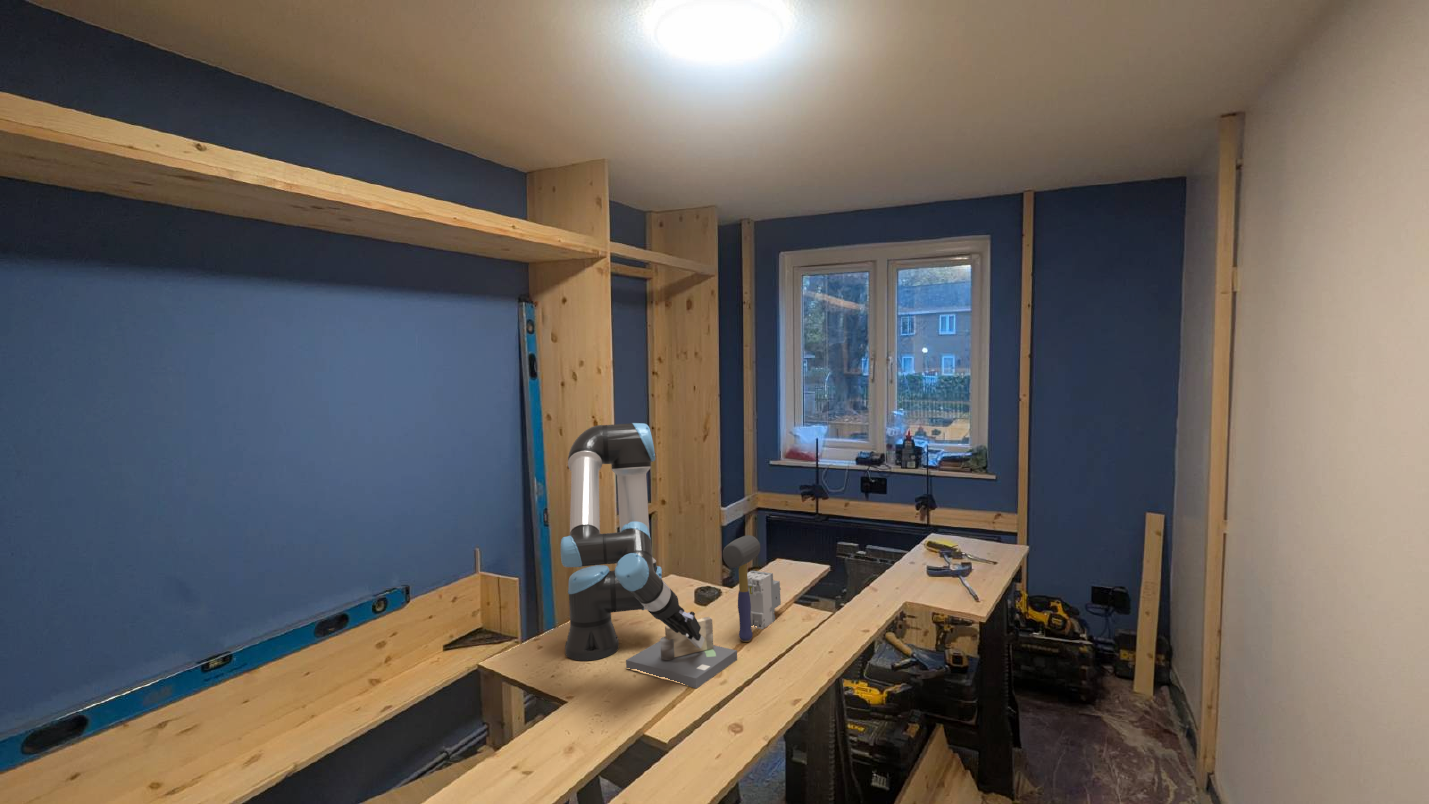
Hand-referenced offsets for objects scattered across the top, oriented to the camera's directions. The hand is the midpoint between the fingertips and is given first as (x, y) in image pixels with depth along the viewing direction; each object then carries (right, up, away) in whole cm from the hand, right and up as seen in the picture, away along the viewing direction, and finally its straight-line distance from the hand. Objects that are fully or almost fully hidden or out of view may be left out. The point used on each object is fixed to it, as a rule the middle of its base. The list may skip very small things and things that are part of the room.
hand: (700, 643), depth 171 cm
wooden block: (-4, -3, +1) cm, 5 cm away
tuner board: (-5, -6, 0) cm, 8 cm away
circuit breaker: (+19, -4, +30) cm, 36 cm away
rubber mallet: (+13, -5, +14) cm, 20 cm away
